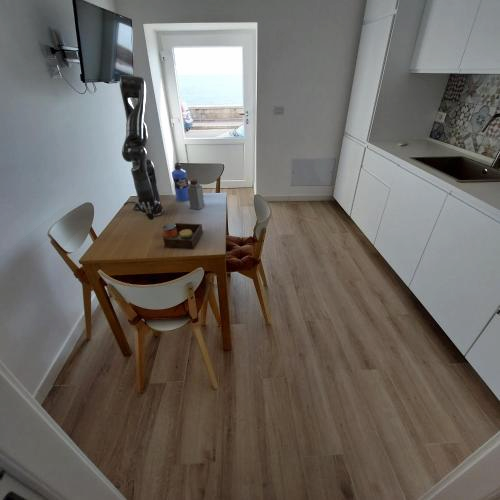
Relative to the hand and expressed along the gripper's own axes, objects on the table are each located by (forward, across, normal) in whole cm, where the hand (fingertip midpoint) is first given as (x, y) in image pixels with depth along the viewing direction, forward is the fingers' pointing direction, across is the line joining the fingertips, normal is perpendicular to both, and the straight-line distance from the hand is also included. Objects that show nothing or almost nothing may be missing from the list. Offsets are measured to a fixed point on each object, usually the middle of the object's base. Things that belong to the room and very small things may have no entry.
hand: (151, 219), depth 144 cm
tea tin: (+10, -19, +8) cm, 24 cm away
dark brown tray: (+10, -17, +4) cm, 20 cm away
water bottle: (+10, -4, -50) cm, 51 cm away
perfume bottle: (+10, -16, -37) cm, 41 cm away
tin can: (+10, -8, 0) cm, 13 cm away
